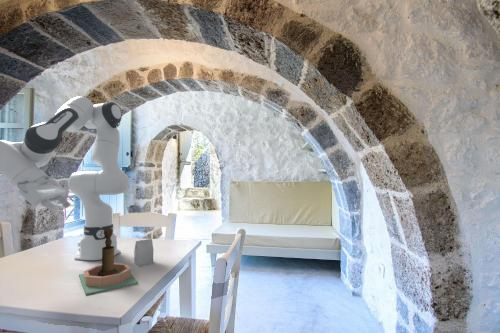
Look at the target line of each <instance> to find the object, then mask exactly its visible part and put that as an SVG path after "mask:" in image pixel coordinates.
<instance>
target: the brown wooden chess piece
mask: <svg viewBox="0 0 500 333" xmlns="http://www.w3.org/2000/svg"><path fill="white" fill-rule="evenodd" d="M112 234H114V229H113V230H112V229H111V228H107V229H105V230H104V235H105V237H106V241H105V244H106V247H103V248H102V259H101V265H102V270H100V271H99V272H98V276H102V277H103V276H108V275H114V274H118V270H116V269H115V268H114V263H115V255H114V246H111V243H112V240H111V236H112Z"/></svg>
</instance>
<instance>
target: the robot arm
mask: <svg viewBox="0 0 500 333" xmlns="http://www.w3.org/2000/svg"><path fill="white" fill-rule="evenodd" d="M122 117H123V112H122V110H121V106H119V105H118V104H117V103H116V102H112V101H105V102H102V103H96V104H93V102H92V100H90V99H89V98H87V97H86V96H81V95H80V96H76V97H73V98H71V99H70V100H68V101H66V102H65V103H64V104H63V105H61V106H60V107H59V109H57V111H56V112H55V114H54V115H53V116H51V117H50V118H49V119H47V120H46V121H44V122H40V123H37V124H34V125H32V126H30V127H28V128H27V129H26V131H25V135H24V138H23V141H22V142H20V141H19V142H17V141H16V142H15V141H14V142H13V141H12V142H11V141H7V140H4V139H0V175H1V176H4V177H6V178H7V179H8V180H9V181H10V183H11V184H12V185H14V186H15V188H17V190H18V192H19V194H20V195H21V196H22V197H23V198H24V199H25V201H27V202H28V203H29V204H30V205H32V206H34V207H37V206H41V205H42V206H43V207H45V208H47V209H49V210H50V211H52V212H53V213H57V212H58V211H59V210H61V209H60V207H59V205H57V204H54V202H55V201H58V202H60V203H61V205H62V206H63V208H64V209H68V208H69V207H71V206H72V204H71V203H70V202H69V201H68V199H67V197H66V195H67V194H68V193H67V190H66V189H65V188H64V187H63V186H62V185H61V184H60V183H59V182H58V181H57V180H56V179H54V175H52V174H51V173H49V172H47V171H45V170H43V169H41V168H43V167H44V166H46V165H47V164H49V162H50V160H51V159H52V157H53V155H54V153H55V151H56V150H57V149H58V147H59V146H60V145H61V143H62V138H63V134H64V133H65V132H66V133H76V132H78V131H80V130H81V129H82V130H84V131H91V130H95V131H96V137H95V139H94V143H93V146H92V151H91V160H92V162H93V163H94V164H95V165H97V166H99V167H100V168H101V170H81V171H76V172H73V173H72V174H70V176H69V178H68V179H67V180H68V181H67V186H68V189H69V191H70V192H71V193H72V194H74V195H75V196H76V197H77V198H78V199H79V200H80V202H81V204H82V207H83V209H84V220H85V221H84V225H83V236H82V238H81V239H80V240H79V241H77V247H78V249H77V251H76V253H75V256H74V260H76V261H77V260H80V261H98V260H99V261H100V260H102V248H103V247H106V244H105V241H106V237H105V235H104V230H105V229H107V228H111V229H112V230H113V231H114V228H115V227H114V224H113V208H112V206H111V205H110V204H109V203H107V202H104V201H103V200H102V199H101V195H103V196H114V195H120V194H125V193H126V192H127V191H128V189H129V187H130V184H131V183H130V182H131V181H130V178H129V176H128V175H127V173H126V172H124V171H123V170H122V169H121V168H120V166H119V163H118V158H119V148H120V141H121V138H120V136H121V135H120V131H119V129H118V127H119V126H120V125H121V121H122ZM111 240H112V243H111V246H114V256H116V255H118V254H121V252H122V251H121V250H120V249H118V241H117V240H118V238H117V235H116V234H115V233H113V234H112V236H111Z"/></svg>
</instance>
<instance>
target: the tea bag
mask: <svg viewBox="0 0 500 333" xmlns="http://www.w3.org/2000/svg"><path fill="white" fill-rule="evenodd" d="M133 252H134V257H133V259H134V260H133V261H134V262H133V263H134V265H135V266H136V267H140V266H141V267H142V266H144V265H150V264H154V244H153V239H152V238H148V239H140V240H135V245H134V250H133Z"/></svg>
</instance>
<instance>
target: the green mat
mask: <svg viewBox="0 0 500 333" xmlns="http://www.w3.org/2000/svg"><path fill="white" fill-rule="evenodd" d="M119 273H120V272H118V274H119ZM96 276H98V275H96ZM78 277H79V280H80V283H81V286H82V289H83V292H84V294H85V296H90V295H95V294H99V293H102V292H107V291H112V290H113V291H114V290H118V289H122V288H126V287H130V286H134V285H135V286H136V285H138V284H139V281H138V280H137V279H136V278H135V277H134V276H133V275H132V274H131V275H130V277H129V278H128V279H126V280H125V281H123V282H122V283H118V284H113V285H109V286H104V287H97V286H86V285H85V282H84V273H80V274H78Z"/></svg>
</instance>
